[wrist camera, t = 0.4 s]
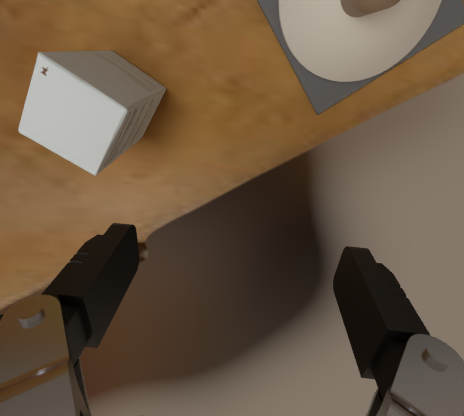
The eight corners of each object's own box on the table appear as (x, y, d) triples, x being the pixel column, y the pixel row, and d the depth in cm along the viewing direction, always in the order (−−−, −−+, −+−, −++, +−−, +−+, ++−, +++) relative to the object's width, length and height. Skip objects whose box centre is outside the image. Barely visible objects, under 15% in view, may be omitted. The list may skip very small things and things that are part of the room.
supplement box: (89, 105, 35) (12, 130, 24) (112, 48, 31) (35, 47, 20) (142, 139, 36) (94, 179, 25) (169, 89, 33) (127, 108, 22)
